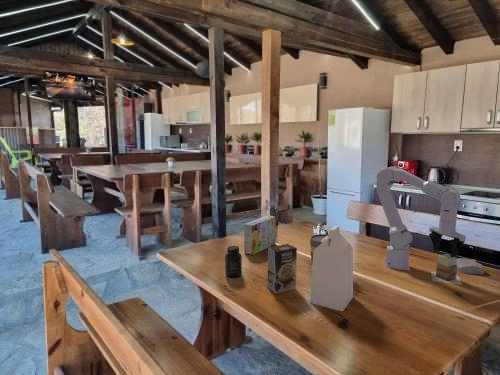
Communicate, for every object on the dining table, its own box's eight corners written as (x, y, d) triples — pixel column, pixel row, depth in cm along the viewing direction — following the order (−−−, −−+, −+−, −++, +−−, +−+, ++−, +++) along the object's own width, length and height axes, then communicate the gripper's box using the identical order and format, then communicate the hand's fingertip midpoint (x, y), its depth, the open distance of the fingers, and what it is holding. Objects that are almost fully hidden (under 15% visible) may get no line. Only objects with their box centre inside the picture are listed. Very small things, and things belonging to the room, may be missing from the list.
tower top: (447, 274, 136) (448, 266, 135) (436, 269, 140) (437, 262, 140) (456, 272, 138) (457, 264, 137) (445, 267, 142) (445, 260, 142)
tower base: (446, 281, 136) (447, 274, 136) (435, 276, 141) (436, 269, 140) (456, 279, 138) (456, 272, 138) (444, 274, 143) (445, 267, 142)
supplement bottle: (244, 273, 145) (244, 246, 143) (237, 280, 139) (236, 251, 137) (230, 271, 148) (229, 244, 146) (222, 277, 142) (221, 248, 140)
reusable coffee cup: (345, 272, 146) (346, 238, 144) (329, 281, 137) (331, 245, 135) (319, 264, 155) (320, 232, 153) (303, 273, 146) (304, 238, 144)
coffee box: (275, 294, 127) (276, 251, 124) (267, 287, 132) (267, 246, 130) (296, 289, 131) (297, 247, 128) (287, 282, 137) (287, 243, 134)
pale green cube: (447, 266, 135) (447, 259, 135) (437, 262, 140) (437, 255, 139) (455, 264, 137) (456, 257, 137) (445, 261, 141) (446, 253, 141)
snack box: (267, 242, 187) (267, 215, 185) (276, 244, 184) (276, 216, 182) (243, 253, 170) (243, 223, 168) (252, 255, 167) (252, 225, 165)
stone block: (460, 278, 144) (487, 276, 142) (458, 267, 144) (485, 264, 142) (449, 269, 156) (474, 266, 154) (448, 258, 156) (472, 255, 154)
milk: (342, 311, 114) (345, 234, 111) (309, 302, 121) (311, 229, 117) (353, 297, 125) (356, 226, 121) (322, 289, 131) (324, 221, 127)
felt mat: (432, 281, 137) (432, 280, 137) (430, 272, 146) (430, 271, 146) (462, 286, 133) (462, 284, 133) (458, 276, 142) (458, 275, 142)
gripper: (472, 223, 132) (469, 258, 134) (439, 215, 145) (436, 246, 147) (459, 225, 129) (456, 260, 131) (426, 216, 142) (423, 248, 144)
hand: (444, 253), depth 139 cm, fingers open, 7 cm apart
